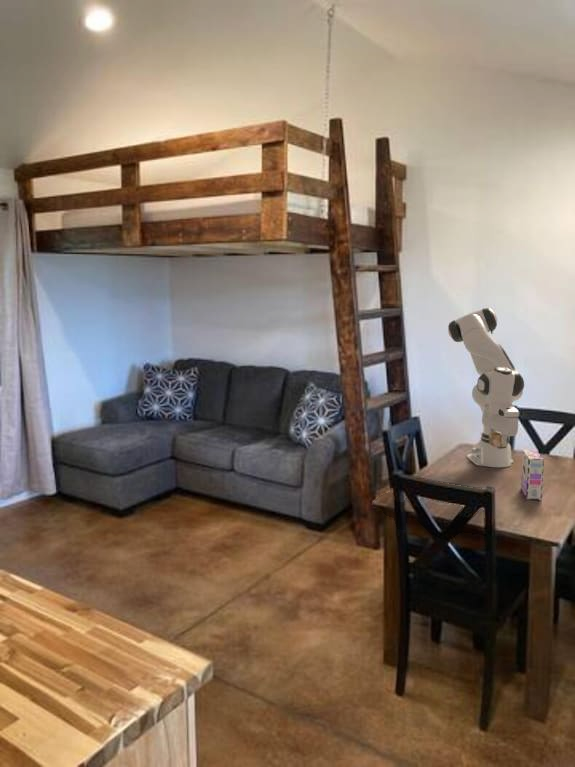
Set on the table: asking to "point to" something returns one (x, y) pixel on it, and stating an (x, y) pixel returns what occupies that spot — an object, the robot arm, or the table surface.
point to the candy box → (532, 474)
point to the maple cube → (496, 439)
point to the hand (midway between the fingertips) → (497, 441)
